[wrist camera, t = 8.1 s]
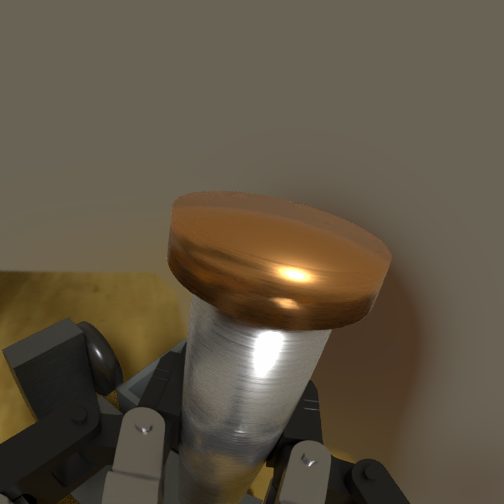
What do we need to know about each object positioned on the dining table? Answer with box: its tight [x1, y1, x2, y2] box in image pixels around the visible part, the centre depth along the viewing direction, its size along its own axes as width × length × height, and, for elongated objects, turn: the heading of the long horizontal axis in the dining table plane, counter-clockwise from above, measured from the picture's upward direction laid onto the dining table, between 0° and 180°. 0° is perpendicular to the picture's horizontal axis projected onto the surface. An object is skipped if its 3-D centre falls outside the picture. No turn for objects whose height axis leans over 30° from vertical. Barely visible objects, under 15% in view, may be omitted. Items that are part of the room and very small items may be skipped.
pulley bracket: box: [2, 318, 263, 504], centre depth 15 cm, size 20×10×13 cm, turn 63°
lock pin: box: [167, 191, 392, 504], centre depth 9 cm, size 4×4×15 cm
